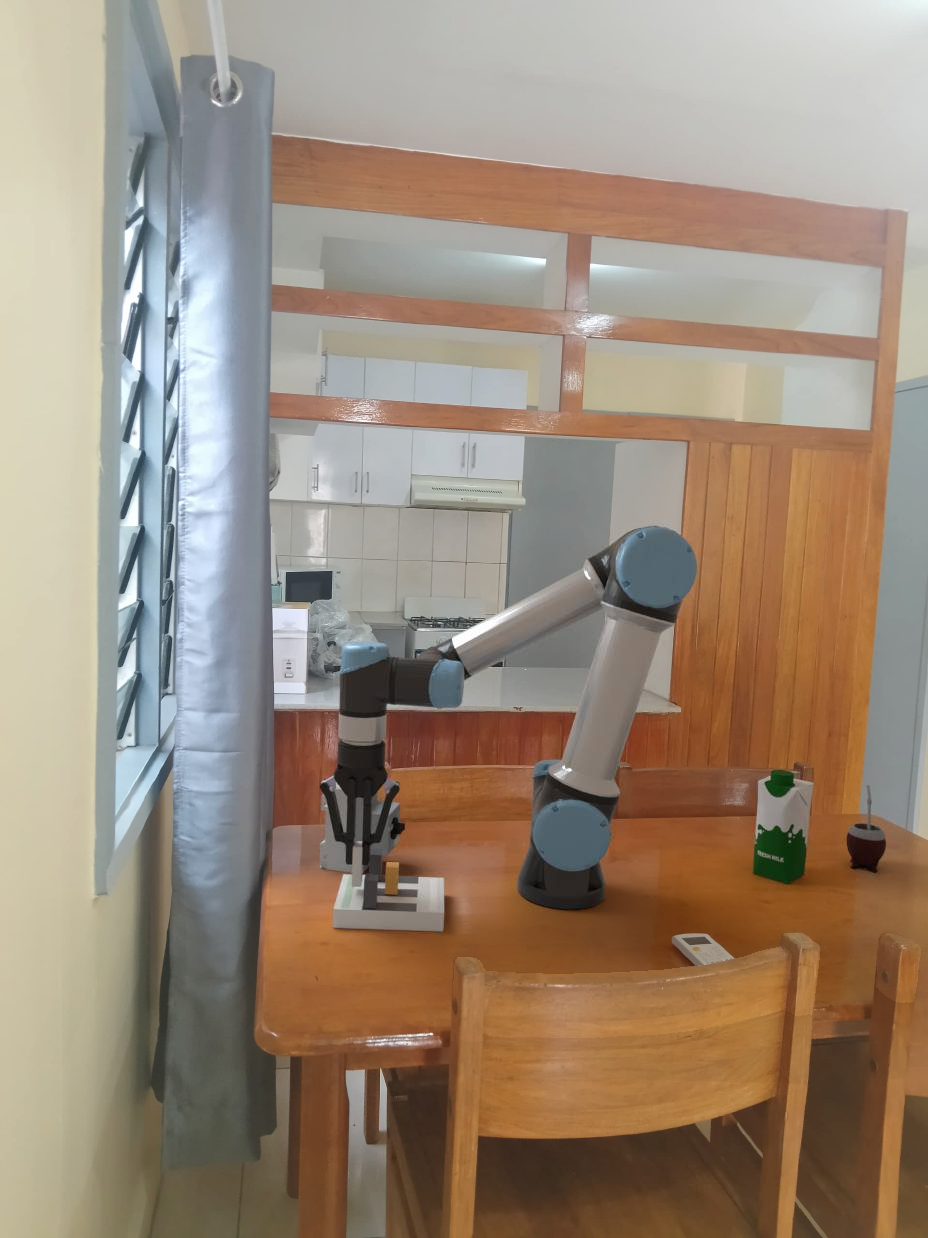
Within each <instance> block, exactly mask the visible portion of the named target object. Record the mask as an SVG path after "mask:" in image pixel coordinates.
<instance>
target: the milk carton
mask: <svg viewBox="0 0 928 1238" xmlns="http://www.w3.org/2000/svg"><path fill="white" fill-rule="evenodd" d="M794 774H795V773H794V772H791V771H789V770H783V769H773V770H771V771H770V775H767V776H766V777H764V778H762V779H759V780H758V781H757V809H756V821H755V832H754V833H755V834H754V846H753V864H752V866H753V868H752V874H753V875H756V876H761V877H764V878H768V879H770V880H773V881H777V882H780V883H783V884H786V885H790V884H792V883H793V882H795V881H797V880H798V879H800V878H801V877H803V876H805V869H806V859H807V849H808V841H809V838H808V837H809V827H810V826H809V825H810V815H811V803H812V798H813V791H814V785H815V783H814V782H811V781H807V780H802V779H799V778H794V777H795V775H794Z"/></svg>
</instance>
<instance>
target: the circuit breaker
mask: <svg viewBox="0 0 928 1238" xmlns="http://www.w3.org/2000/svg"><path fill="white" fill-rule="evenodd" d="M378 793H379V791H378V792H377V793H376V794H375V795H374V796H373V797H372V822H371V834H372V833H375V831H376V828H377V824H378V821H379V817H380V814H381V810H382V807H383V804H384V800H378V797H379V796H378ZM335 794H336V799H337V803H338V808H339V812H340V817H341V822H342V826H343V831H344V832H345V833H346V825H347V796H346V795H345V794H344V792H343V791H342V789H341V788H340V786H339V785H338V784H337V782H336V789H335ZM320 803H321V804H320V806H321V808H320V810H321V811H322V812H323V811H324V812H325V829H324V830H325V831H324V835H325V836H324V839H323V841H321V842H320V843H319V870H320V869H321V870H322V869H325V870H327V871H337V872H345V873H351V874H352V865H347V864H346V845H345V844H344V843H342V842H337V841H336V840H335V838H334V833H333V829H332V824H331V819H330V815H329V810H328V805H327V801H326V797H325V796H324V794H323V793H322V795H321V802H320ZM400 818H401V803H400V802H393V801H392V804H391V808H390V811H389V815H388V818H387V822H386V825H385V829H384V832H383V836H382V839H381V842H380V843H374V844H372V845H371V846H370V851H371V849H372V850H383V857H388V856H389V854H390V853H392V851H393V849H394V848H395V847H396V846H397V845H398V844H399V842H400V835H402V834H403V832H404V831H405V830H406V823H405V822H401V821H400V820H401V819H400ZM362 835H363V798H360V797H359V798H356V820H355V841H360V842H362ZM355 841H354V842H355ZM367 869H369V864H368V865H363V873H364V872H365V871H366V870H367Z"/></svg>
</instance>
